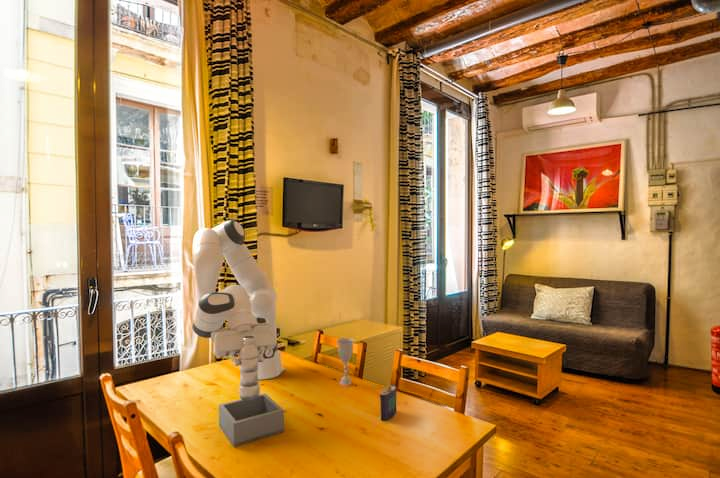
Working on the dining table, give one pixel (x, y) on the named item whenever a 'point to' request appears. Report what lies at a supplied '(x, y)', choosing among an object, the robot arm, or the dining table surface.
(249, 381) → the plastic bottle
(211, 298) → the robot arm
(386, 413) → the hip flask
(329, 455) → the dining table surface
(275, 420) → the bin
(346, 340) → the chalice
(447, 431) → the dining table surface
